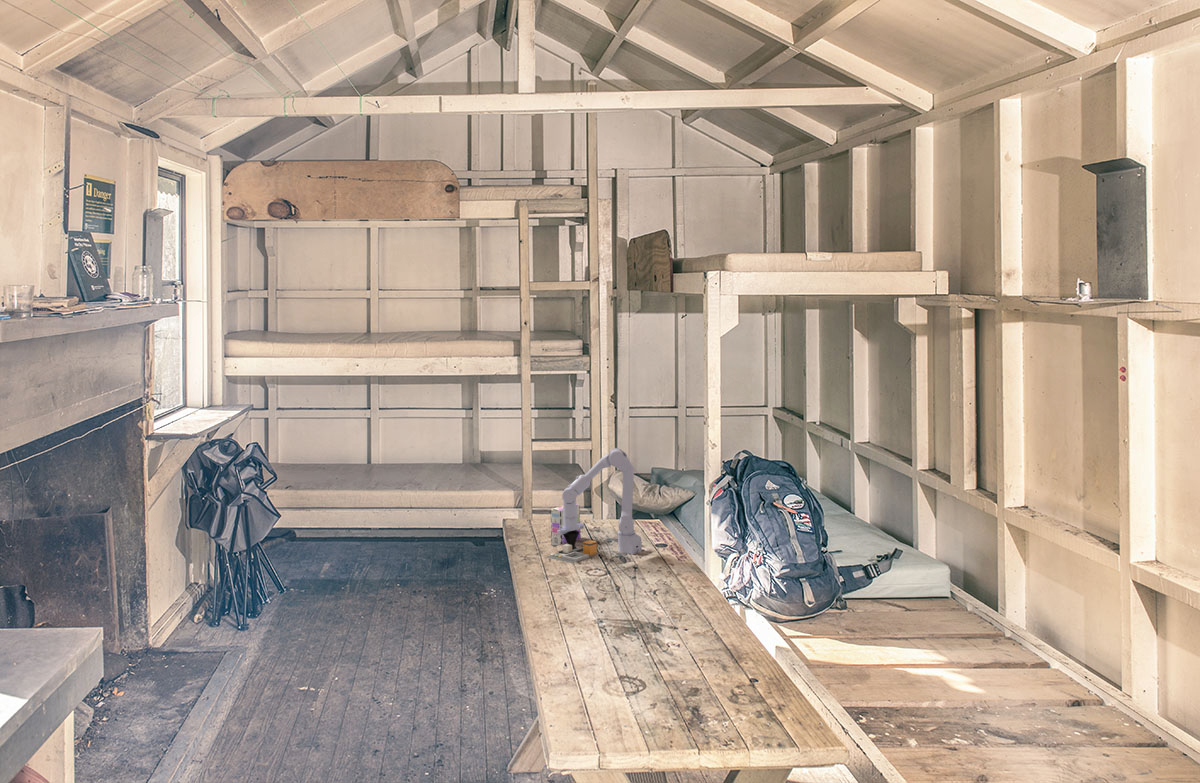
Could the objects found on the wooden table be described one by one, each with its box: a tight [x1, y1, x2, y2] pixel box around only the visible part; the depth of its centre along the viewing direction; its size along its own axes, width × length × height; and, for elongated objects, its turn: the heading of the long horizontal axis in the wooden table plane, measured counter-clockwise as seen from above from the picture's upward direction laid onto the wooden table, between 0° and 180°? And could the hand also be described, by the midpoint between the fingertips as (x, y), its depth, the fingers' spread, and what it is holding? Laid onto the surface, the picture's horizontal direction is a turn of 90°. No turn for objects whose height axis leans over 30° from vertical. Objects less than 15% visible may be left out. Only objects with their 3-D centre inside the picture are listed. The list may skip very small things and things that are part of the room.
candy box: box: [550, 503, 581, 547], centre depth 408 cm, size 14×6×16 cm, turn 143°
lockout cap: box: [582, 539, 598, 555], centre depth 385 cm, size 4×4×5 cm
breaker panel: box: [545, 545, 603, 564], centre depth 384 cm, size 16×18×3 cm
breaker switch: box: [562, 543, 572, 553], centre depth 388 cm, size 3×2×3 cm
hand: (571, 548), depth 390 cm, fingers closed
